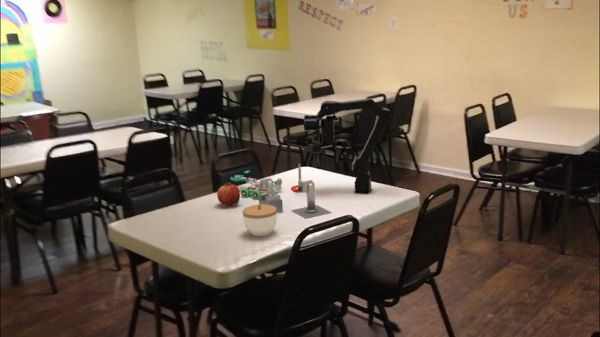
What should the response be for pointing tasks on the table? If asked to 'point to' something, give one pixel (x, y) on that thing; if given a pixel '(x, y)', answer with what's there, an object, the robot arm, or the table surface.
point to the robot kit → (254, 189)
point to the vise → (270, 195)
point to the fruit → (228, 194)
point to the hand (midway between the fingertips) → (328, 164)
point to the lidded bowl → (260, 219)
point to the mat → (308, 215)
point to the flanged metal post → (310, 196)
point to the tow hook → (298, 183)
